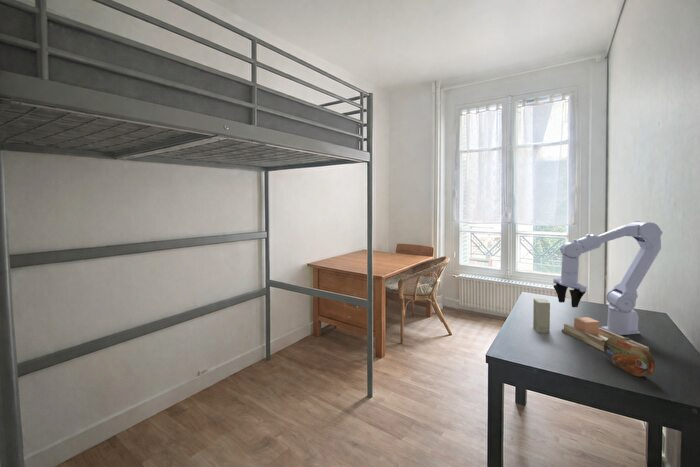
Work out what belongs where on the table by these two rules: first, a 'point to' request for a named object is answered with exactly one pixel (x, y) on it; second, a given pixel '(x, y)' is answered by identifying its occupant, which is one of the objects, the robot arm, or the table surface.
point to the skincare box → (541, 315)
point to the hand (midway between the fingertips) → (568, 304)
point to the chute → (596, 337)
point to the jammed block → (587, 325)
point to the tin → (629, 357)
